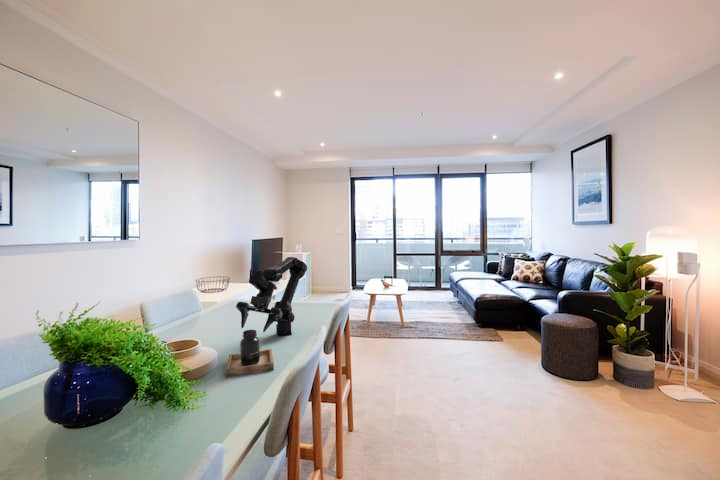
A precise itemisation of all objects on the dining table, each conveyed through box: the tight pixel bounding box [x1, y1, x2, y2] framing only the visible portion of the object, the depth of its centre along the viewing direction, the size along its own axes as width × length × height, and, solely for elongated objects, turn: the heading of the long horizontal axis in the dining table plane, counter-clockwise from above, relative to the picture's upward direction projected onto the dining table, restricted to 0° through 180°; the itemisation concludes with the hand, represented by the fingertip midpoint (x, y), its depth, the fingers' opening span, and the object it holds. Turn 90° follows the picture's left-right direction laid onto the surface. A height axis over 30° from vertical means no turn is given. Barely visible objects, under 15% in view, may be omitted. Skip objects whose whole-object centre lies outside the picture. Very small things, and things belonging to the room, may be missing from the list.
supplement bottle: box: [239, 329, 261, 366], centre depth 118 cm, size 7×7×12 cm
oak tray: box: [225, 348, 275, 378], centre depth 118 cm, size 16×14×2 cm
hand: (252, 329), depth 128 cm, fingers open, 9 cm apart
